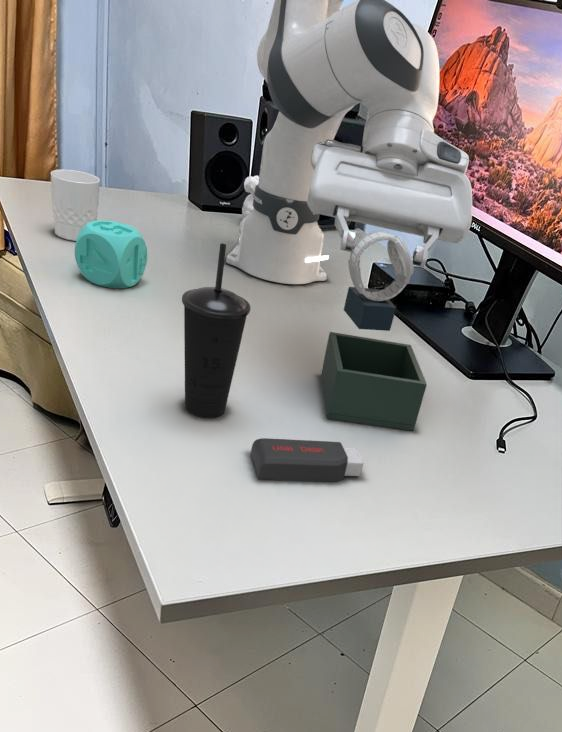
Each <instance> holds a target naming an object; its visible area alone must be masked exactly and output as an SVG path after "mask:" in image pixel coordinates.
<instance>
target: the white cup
mask: <svg viewBox="0 0 562 732" xmlns="http://www.w3.org/2000/svg"><path fill="white" fill-rule="evenodd" d="M100 184H101V179H100V178H99V177H98V176H96V175H94V174H92V173H89V172H85V171H80V170H75V169H74V170H73V169H55V170H54V169H53V170H51V171H50V185H51V186H50V187H51V202H52V204H51V205H52V206H51V207H52V217H53V221H54V234H55V235H56V236H57V237H59V238H61V239H65V240H67V241H73V242H76V240H77V237H78V235H79V233H80V231H81V229H82V228H83V227H84V226H85V225H86V224H87V223H89V222H91V221H98V211H99V199H100Z"/></svg>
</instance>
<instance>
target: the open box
mask: <svg viewBox="0 0 562 732" xmlns="http://www.w3.org/2000/svg"><path fill="white" fill-rule="evenodd" d="M418 361H419V360H418V359H417V357H416V354H415V352H414V349H413V346H412V345H411V344H407V343H401V342H394V341H388V340H383V339H376V338H370V337H364V336H359V335H353V334H347V333H340V332H334V331H329V334H328V339H327V344H326V348H325V353H324V359H323V362H322V363H323V364H322V368H321V373H320V382H321V388H322V394H323V401H324V408H325V414H326V419H327V420H333V421H341V422H348V423H354V424H362V425H368V426H375V427H382V428H390V429H397V430H402V431H403V430H405V431H411V432H414V430H415V427H416V424H417V420H418V417H419V413H420V410H421V406H422V402H423V399H424V396H425V394H426V393H425V392H426V389H427V386H428V384H427V381H426V378H425V376H424V373H423V371H422V369H421V366H420V364H419V362H418Z"/></svg>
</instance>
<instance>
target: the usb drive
mask: <svg viewBox="0 0 562 732" xmlns="http://www.w3.org/2000/svg"><path fill="white" fill-rule="evenodd" d="M250 456H251V459H252V464H253V466H254V470H255V473H256V476H257V479H258V480H264V481H265V480H266V481H297V482H300V481H301V482H325V483H326V482H329V483H331V482H332V483H333V482H338V481H342V480H344V479H345V477H348V476H349V477H361V475H362V470H363V466H364V461H363V460H362V458H361V455H360V453H359V451H358V449H357V448H355V447H344V446H343V444H342V442H341V441H327V440H310V439H309V440H307V439H288V438H286V439H285V438H267V437H266V438H265V437H263V438H257V439H255V440H254V441H253V443H252V445H251V449H250Z"/></svg>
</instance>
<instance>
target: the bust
mask: <svg viewBox="0 0 562 732" xmlns="http://www.w3.org/2000/svg"><path fill="white" fill-rule="evenodd" d="M258 182H259V174H258V175H254V176H252V175H250V176H247V177H246V178H245V179H244V182H243V185H244V186H243V189H244V191H245V193H250V194H248V195H247V196H246V197H245V199H244V201H243V205H242V208H241V214H242V215H241V216H242V219H243V218H246V216H247V215H248V214H250V213H251V212H252V210H253V209H254V207H253V199H254V198H253V195H254V192H255V187H256V185H258Z"/></svg>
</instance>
